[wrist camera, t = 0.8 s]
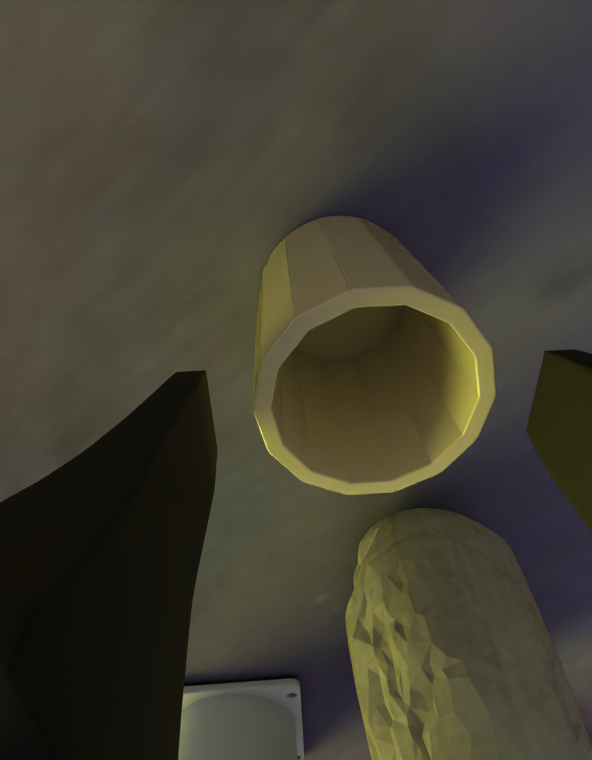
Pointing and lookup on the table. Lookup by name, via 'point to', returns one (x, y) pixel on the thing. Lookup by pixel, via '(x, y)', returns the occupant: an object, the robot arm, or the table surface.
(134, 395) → the table surface
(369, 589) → the stone
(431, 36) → the table surface
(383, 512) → the table surface
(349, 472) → the cup
